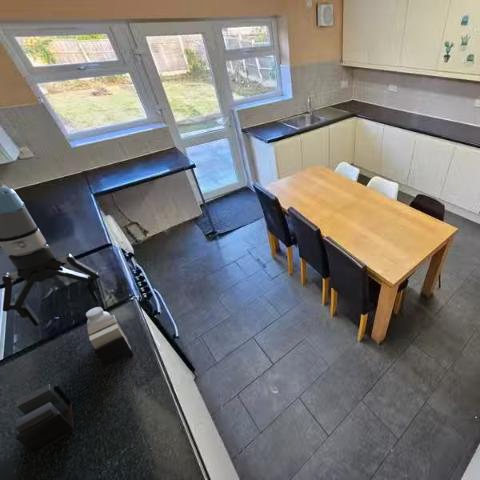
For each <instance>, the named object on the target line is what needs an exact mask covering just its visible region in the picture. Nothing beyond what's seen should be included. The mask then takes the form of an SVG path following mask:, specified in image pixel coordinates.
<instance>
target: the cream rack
mask: <svg viewBox="0 0 480 480" xmlns="http://www.w3.org/2000/svg"><path fill="white" fill-rule="evenodd" d="M115 324H117V325H118V327H119V329H120V330H121V332H122V334H123V336H124V337H125V338H124V337H123V336H121V337H119V338H117V339H115V340H112V341H110V342H108V343H106V344H104V345H102V346H100V347H98V348H96V349H95V348H94V349H93V352H94V353H95V355H96V356H97V358H98V359H99V361H100V362H101V363H102V365H103V367H104V368H106V367H108V366H110V365H112V364H114V363H116V362H118V361H120V360H121V359H124V358H125V357H129V358H130V357H132V356H133V355H134V352H133V349H132V347H131V343H130V340H129V339H128V336H127V334H126V332H125V330H124V328H123V327H122V325H121V323H120V321H119V319H118V318H116V316H115V315H114V314H112V315H111V314H110V316H109V317H107V318H105V319H102V320H100V321H98V322H95V323H93V324H91V325H89V326H88V325H87V326H86V329H87V330H86V331H87V334H88V337H89V336H91V335H93V334H96V333H98V332H100V331H102V330H104V329H107V328H109V327H111V326H113V325H115ZM125 339H126V340H125ZM126 341H127V342H128V344H129V345H128V344H127V342H126ZM129 346H130V347H129Z"/></svg>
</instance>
